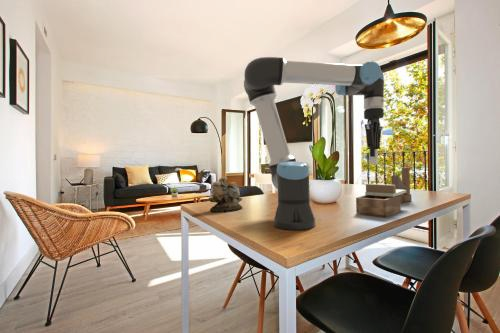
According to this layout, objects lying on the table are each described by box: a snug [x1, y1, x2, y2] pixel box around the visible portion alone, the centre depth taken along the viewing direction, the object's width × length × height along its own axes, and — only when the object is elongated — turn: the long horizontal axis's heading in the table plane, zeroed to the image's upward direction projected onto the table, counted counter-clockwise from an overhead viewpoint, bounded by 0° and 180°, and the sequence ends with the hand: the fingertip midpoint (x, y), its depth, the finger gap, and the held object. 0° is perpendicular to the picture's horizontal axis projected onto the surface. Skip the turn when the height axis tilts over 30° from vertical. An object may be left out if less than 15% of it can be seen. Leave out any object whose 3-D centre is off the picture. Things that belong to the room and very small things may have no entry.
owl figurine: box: [208, 176, 243, 214], centre depth 129 cm, size 18×12×17 cm, turn 122°
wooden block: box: [390, 167, 412, 204], centre depth 134 cm, size 4×11×18 cm, turn 114°
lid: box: [364, 183, 406, 197], centre depth 116 cm, size 12×17×5 cm
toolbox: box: [355, 194, 402, 218], centre depth 110 cm, size 12×17×7 cm
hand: (373, 164), depth 108 cm, fingers closed
